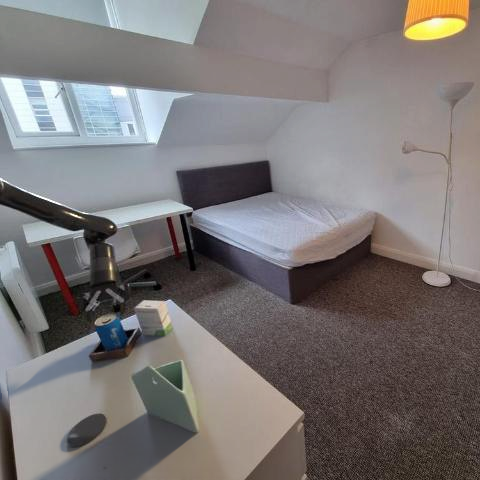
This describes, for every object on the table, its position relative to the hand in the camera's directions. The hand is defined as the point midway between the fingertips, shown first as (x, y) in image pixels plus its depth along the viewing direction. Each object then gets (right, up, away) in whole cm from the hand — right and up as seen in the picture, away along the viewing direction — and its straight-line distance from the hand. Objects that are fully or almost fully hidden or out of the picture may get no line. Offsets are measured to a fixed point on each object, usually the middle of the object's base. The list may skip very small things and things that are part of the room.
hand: (107, 318), depth 88 cm
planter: (+34, -19, -17) cm, 42 cm away
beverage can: (+1, -11, +3) cm, 11 cm away
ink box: (+11, -7, +10) cm, 16 cm away
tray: (+1, -11, +3) cm, 11 cm away
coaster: (+12, -21, -22) cm, 33 cm away
